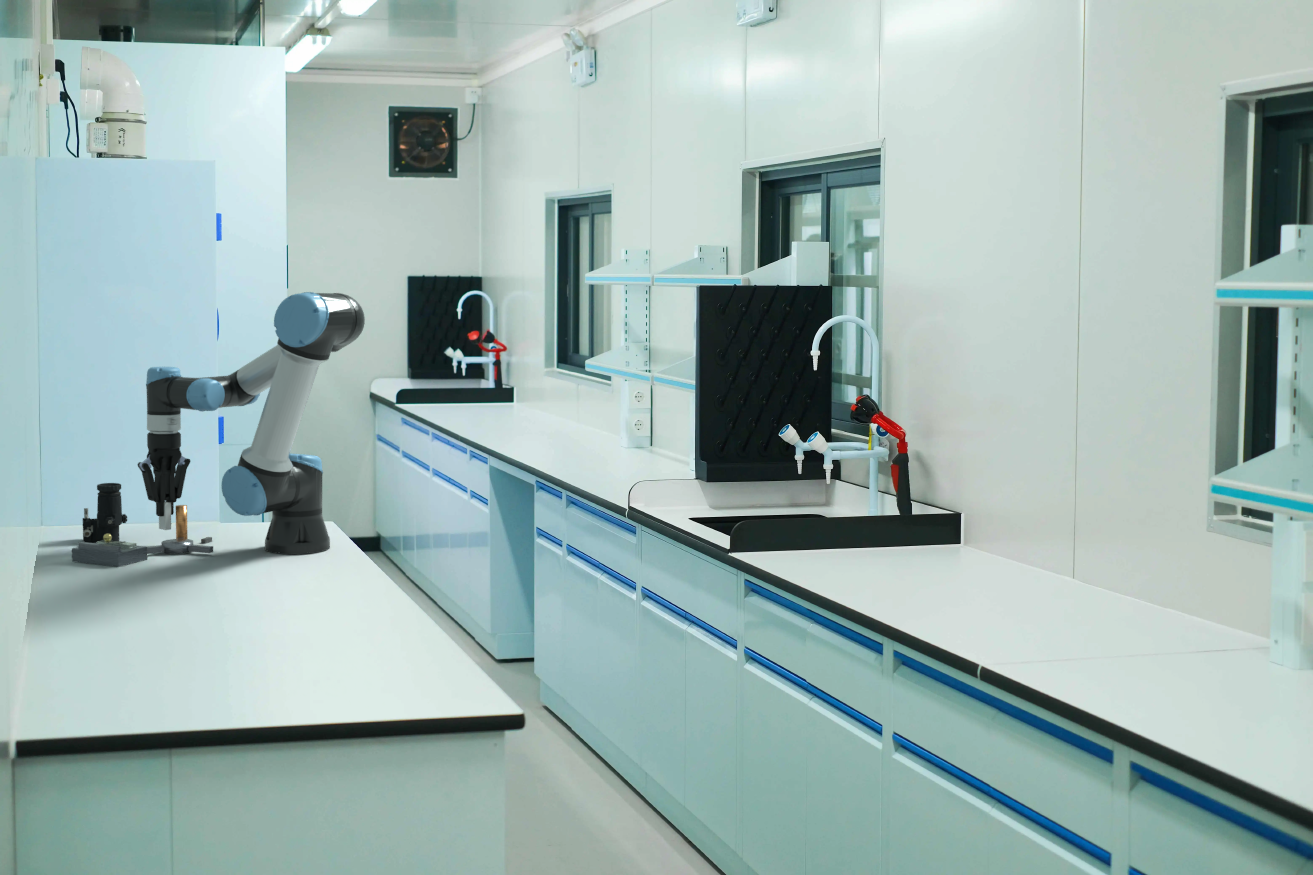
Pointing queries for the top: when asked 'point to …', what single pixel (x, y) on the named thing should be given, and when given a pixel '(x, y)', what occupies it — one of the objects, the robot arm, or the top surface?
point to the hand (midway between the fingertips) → (165, 528)
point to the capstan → (180, 538)
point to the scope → (105, 514)
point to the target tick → (206, 540)
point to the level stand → (109, 552)
